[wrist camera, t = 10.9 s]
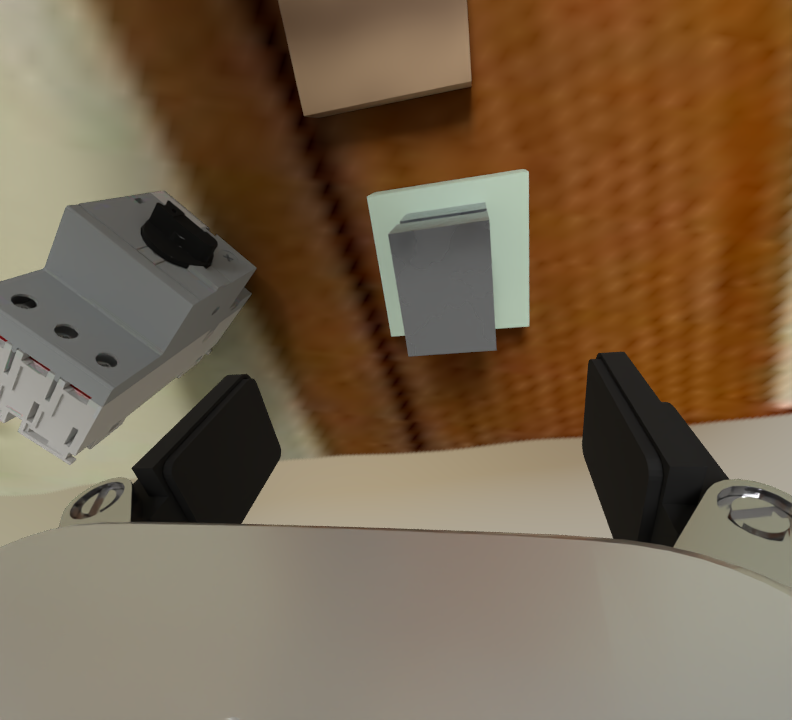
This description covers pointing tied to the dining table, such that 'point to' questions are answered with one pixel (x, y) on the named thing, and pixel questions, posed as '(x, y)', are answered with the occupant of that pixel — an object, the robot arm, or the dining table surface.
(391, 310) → the stand green
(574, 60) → the dining table surface
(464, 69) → the stand walnut
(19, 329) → the circuit breaker
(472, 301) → the block
